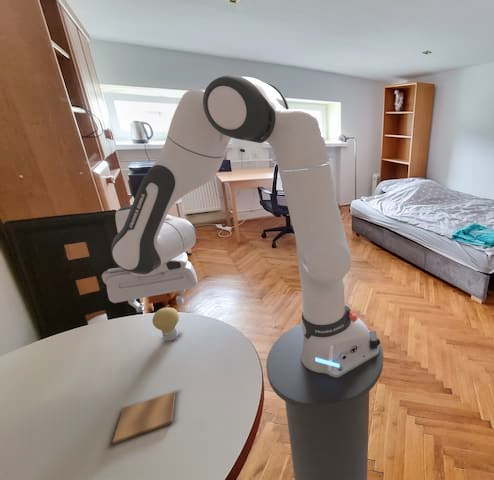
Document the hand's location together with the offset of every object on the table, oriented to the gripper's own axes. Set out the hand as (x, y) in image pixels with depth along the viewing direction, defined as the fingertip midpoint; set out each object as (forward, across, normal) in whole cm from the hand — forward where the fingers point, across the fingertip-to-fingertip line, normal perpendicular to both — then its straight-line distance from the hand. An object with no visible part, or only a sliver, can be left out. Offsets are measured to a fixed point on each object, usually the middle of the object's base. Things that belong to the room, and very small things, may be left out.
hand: (161, 306), depth 81 cm
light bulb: (+11, 0, 0) cm, 11 cm away
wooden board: (+11, -2, -27) cm, 29 cm away
